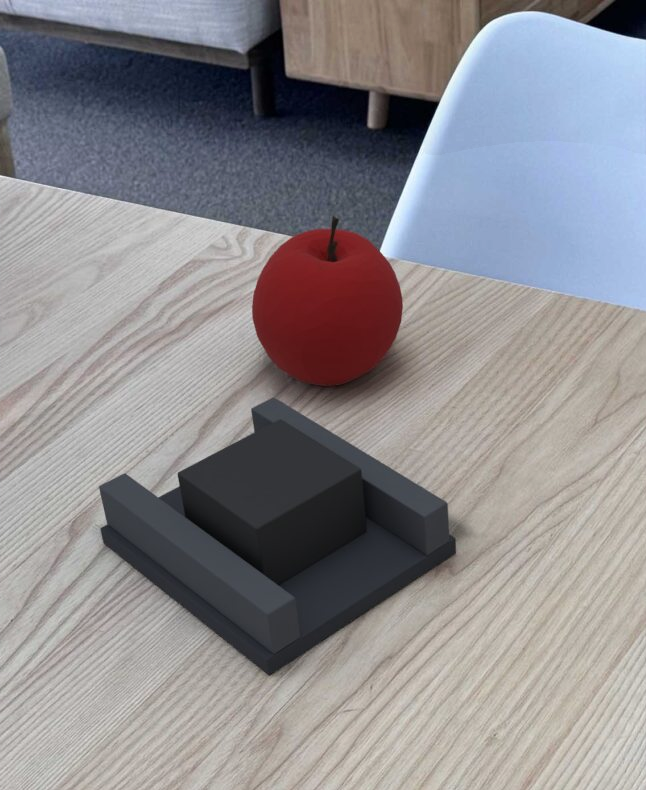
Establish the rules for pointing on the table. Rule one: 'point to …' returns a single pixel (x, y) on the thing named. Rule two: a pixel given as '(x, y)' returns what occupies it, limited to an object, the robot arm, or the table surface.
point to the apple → (327, 306)
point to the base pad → (300, 592)
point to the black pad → (276, 500)
